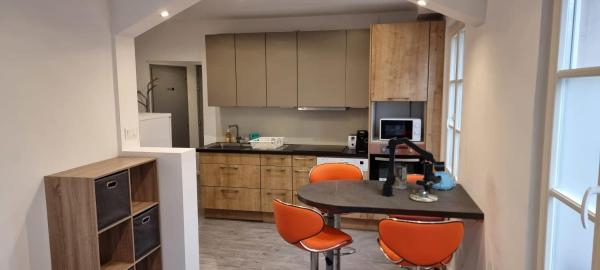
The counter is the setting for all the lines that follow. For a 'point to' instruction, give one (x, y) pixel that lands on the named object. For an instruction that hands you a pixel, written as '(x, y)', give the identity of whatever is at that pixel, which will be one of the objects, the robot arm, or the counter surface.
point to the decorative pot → (444, 181)
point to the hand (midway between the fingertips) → (427, 193)
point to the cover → (423, 193)
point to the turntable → (430, 198)
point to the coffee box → (400, 177)
